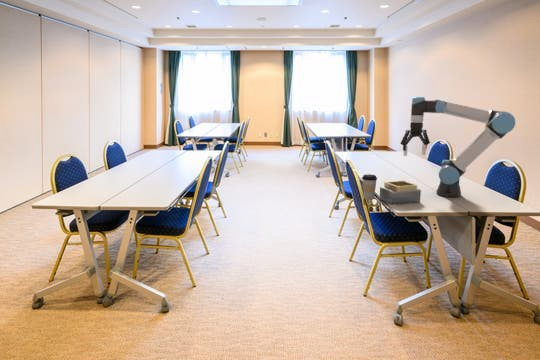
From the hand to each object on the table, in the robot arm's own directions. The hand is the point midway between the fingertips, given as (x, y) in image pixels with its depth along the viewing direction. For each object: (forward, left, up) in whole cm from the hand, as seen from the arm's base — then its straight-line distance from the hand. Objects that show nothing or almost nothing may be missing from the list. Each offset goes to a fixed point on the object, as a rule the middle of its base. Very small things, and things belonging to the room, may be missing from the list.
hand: (414, 155), depth 280 cm
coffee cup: (+31, -1, -27) cm, 41 cm away
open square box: (+15, +9, -27) cm, 32 cm away
